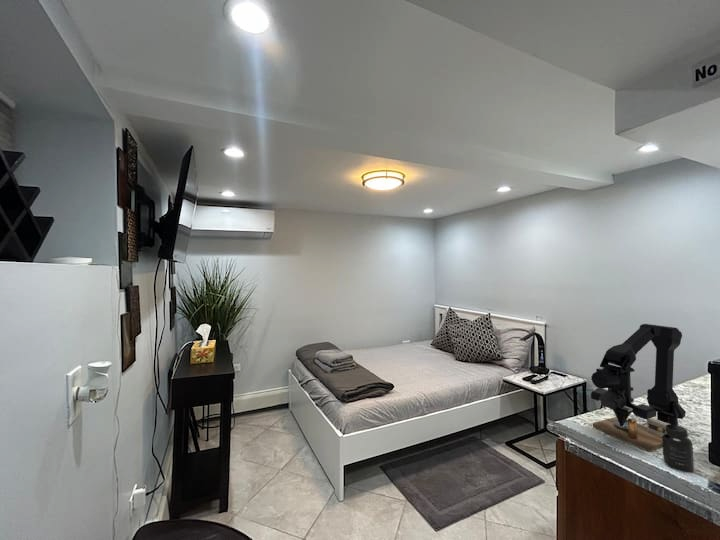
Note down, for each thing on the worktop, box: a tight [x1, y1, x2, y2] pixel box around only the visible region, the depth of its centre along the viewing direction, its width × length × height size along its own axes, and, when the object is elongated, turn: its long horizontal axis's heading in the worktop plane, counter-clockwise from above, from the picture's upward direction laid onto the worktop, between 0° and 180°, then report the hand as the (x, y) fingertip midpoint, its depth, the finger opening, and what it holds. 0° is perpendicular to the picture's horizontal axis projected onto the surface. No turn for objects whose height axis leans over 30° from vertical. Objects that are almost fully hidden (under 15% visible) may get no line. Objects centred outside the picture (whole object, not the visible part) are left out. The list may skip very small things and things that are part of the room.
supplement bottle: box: [662, 424, 695, 473], centre depth 99 cm, size 7×7×12 cm
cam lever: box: [613, 417, 638, 438], centre depth 118 cm, size 13×7×6 cm, turn 156°
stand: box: [592, 416, 669, 453], centre depth 119 cm, size 15×19×6 cm
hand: (621, 425), depth 116 cm, fingers closed
